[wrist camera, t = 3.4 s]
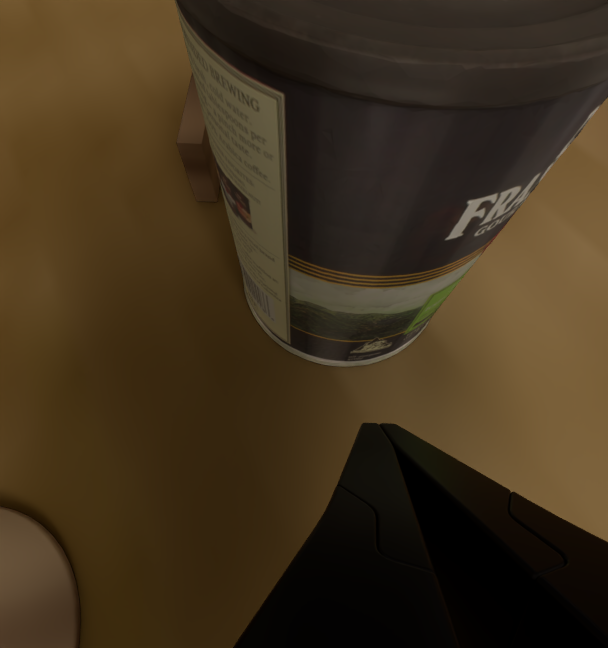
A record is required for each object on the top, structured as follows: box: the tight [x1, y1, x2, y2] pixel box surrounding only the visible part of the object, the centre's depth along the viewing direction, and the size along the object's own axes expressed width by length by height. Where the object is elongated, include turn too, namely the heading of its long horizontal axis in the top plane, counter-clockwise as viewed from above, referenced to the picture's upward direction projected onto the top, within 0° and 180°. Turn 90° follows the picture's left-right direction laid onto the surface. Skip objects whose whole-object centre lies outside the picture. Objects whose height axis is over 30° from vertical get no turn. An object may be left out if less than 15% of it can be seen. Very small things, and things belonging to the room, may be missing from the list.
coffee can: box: [175, 0, 608, 367], centre depth 13 cm, size 10×10×14 cm
